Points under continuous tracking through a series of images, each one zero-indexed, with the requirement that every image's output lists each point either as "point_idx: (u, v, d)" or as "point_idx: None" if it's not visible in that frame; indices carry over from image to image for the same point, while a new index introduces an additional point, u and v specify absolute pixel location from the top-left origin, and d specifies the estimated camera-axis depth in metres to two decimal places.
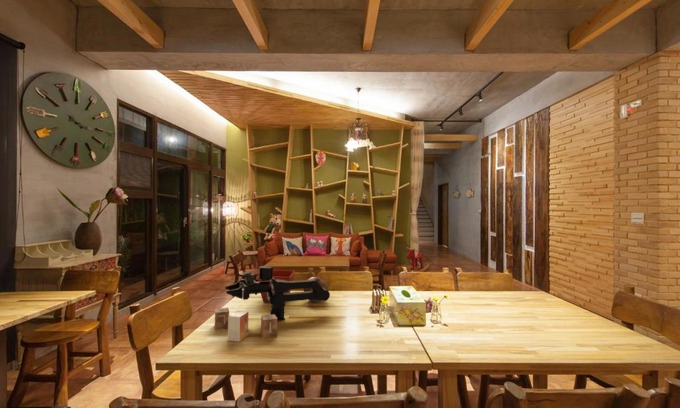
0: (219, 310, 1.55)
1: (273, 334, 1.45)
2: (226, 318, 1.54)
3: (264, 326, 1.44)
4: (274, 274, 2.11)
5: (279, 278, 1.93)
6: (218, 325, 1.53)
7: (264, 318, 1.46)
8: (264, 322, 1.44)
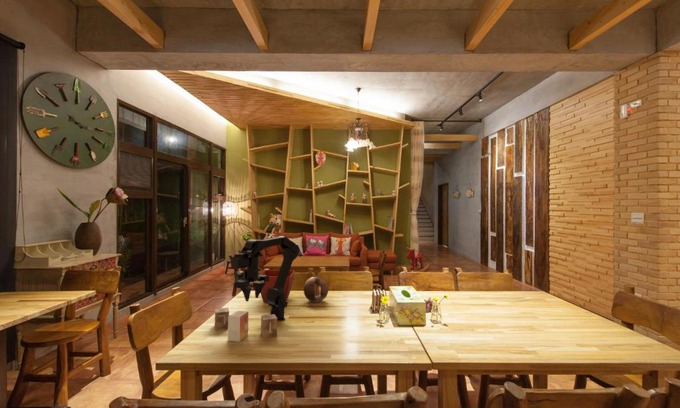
0: (219, 310, 1.55)
1: (273, 334, 1.45)
2: (226, 318, 1.54)
3: (264, 326, 1.44)
4: (274, 274, 2.11)
5: None
6: (218, 325, 1.53)
7: (264, 318, 1.46)
8: (264, 322, 1.44)
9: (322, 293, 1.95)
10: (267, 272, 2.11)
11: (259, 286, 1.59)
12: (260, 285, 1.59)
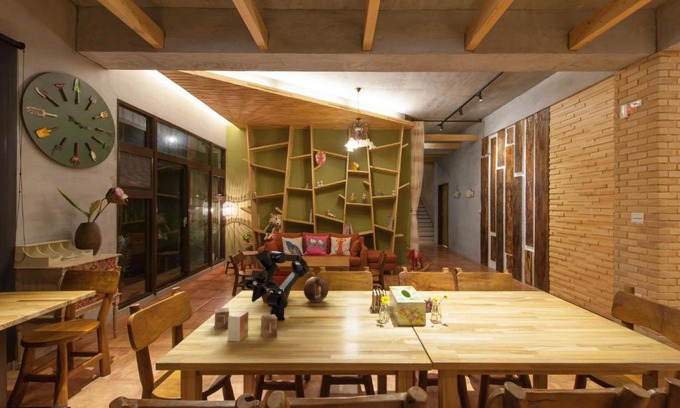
0: (219, 310, 1.55)
1: (273, 334, 1.45)
2: (226, 318, 1.54)
3: (264, 326, 1.44)
4: (274, 274, 2.11)
5: (279, 278, 1.93)
6: (218, 325, 1.53)
7: (264, 318, 1.46)
8: (264, 322, 1.44)
9: (322, 293, 1.95)
10: None
11: None
12: None
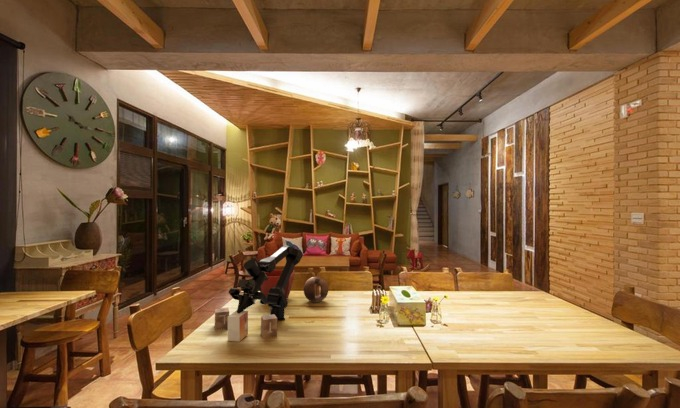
0: (219, 310, 1.55)
1: (273, 334, 1.45)
2: (226, 318, 1.54)
3: (264, 326, 1.44)
4: (274, 274, 2.11)
5: None
6: (218, 325, 1.53)
7: (264, 318, 1.46)
8: (264, 322, 1.44)
9: (322, 293, 1.95)
10: None
11: None
12: None
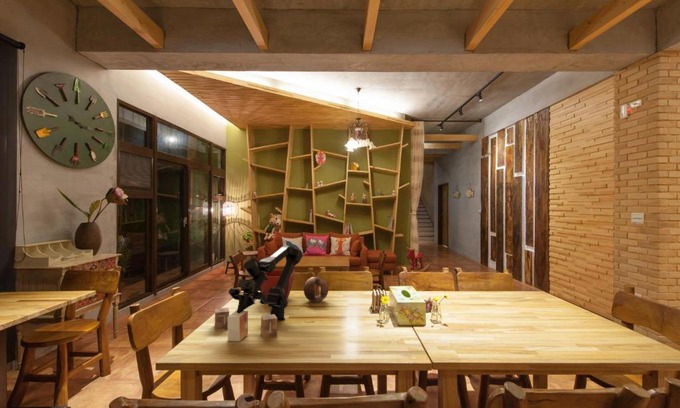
0: (219, 310, 1.55)
1: (273, 334, 1.45)
2: (226, 318, 1.54)
3: (264, 326, 1.44)
4: (274, 274, 2.11)
5: None
6: (218, 325, 1.53)
7: (264, 318, 1.46)
8: (264, 322, 1.44)
9: (322, 293, 1.95)
10: None
11: None
12: None
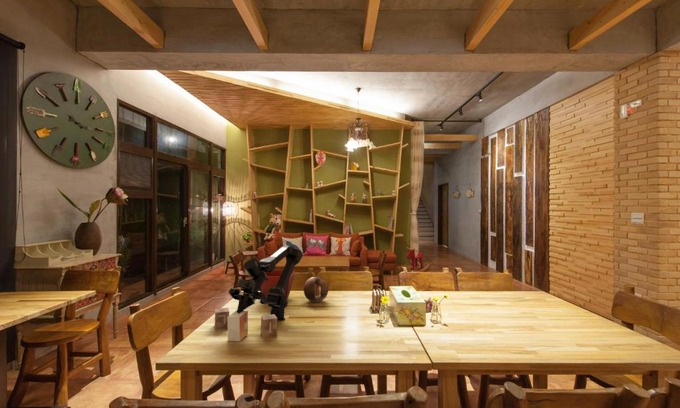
0: (219, 310, 1.55)
1: (273, 334, 1.45)
2: (226, 318, 1.54)
3: (264, 326, 1.44)
4: (274, 274, 2.11)
5: None
6: (218, 325, 1.53)
7: (264, 318, 1.46)
8: (264, 322, 1.44)
9: (322, 293, 1.95)
10: None
11: None
12: None
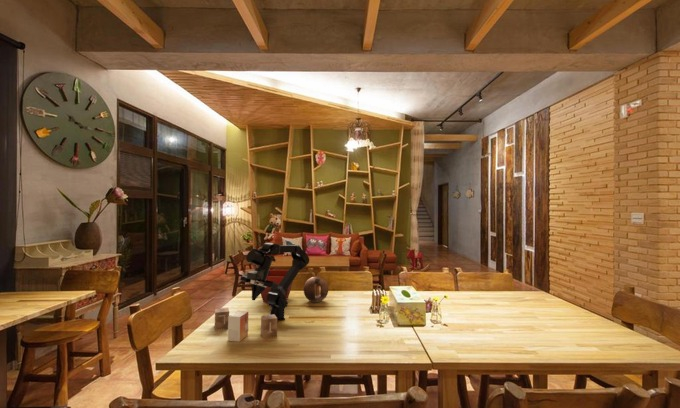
0: (219, 310, 1.55)
1: (273, 334, 1.45)
2: (226, 318, 1.54)
3: (264, 326, 1.44)
4: (274, 274, 2.11)
5: (279, 278, 1.93)
6: (218, 325, 1.53)
7: (264, 318, 1.46)
8: (264, 322, 1.44)
9: (322, 293, 1.95)
10: None
11: None
12: None
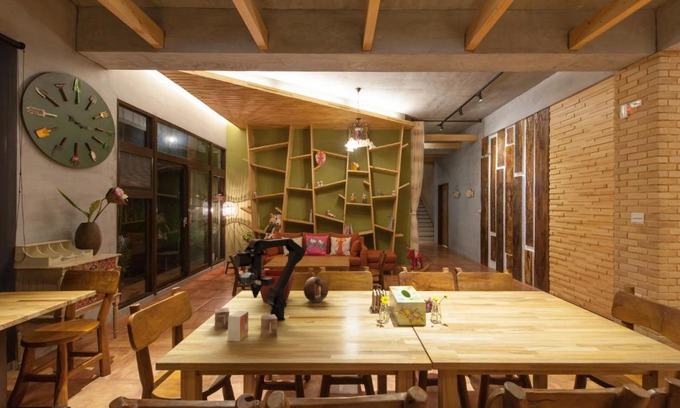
0: (219, 310, 1.55)
1: (273, 334, 1.45)
2: (226, 318, 1.54)
3: (264, 326, 1.44)
4: (274, 274, 2.11)
5: None
6: (218, 325, 1.53)
7: (264, 318, 1.46)
8: (264, 322, 1.44)
9: (322, 293, 1.95)
10: (267, 272, 2.11)
11: None
12: None
